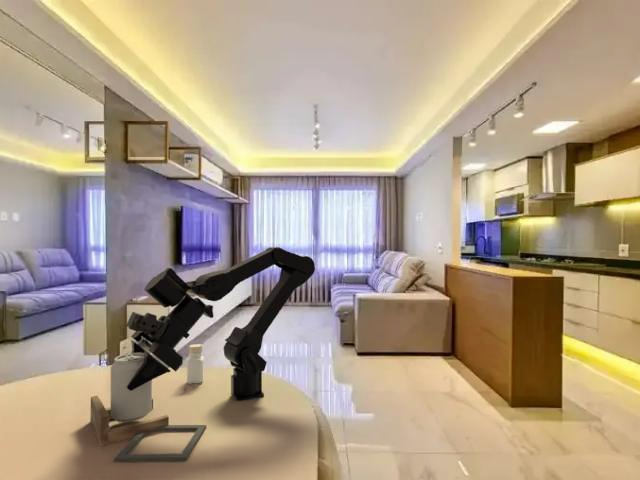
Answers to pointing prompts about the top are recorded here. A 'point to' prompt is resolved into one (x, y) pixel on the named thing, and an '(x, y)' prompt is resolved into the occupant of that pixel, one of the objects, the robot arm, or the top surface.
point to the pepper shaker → (195, 364)
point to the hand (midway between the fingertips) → (124, 383)
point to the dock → (107, 436)
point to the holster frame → (126, 457)
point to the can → (122, 399)
